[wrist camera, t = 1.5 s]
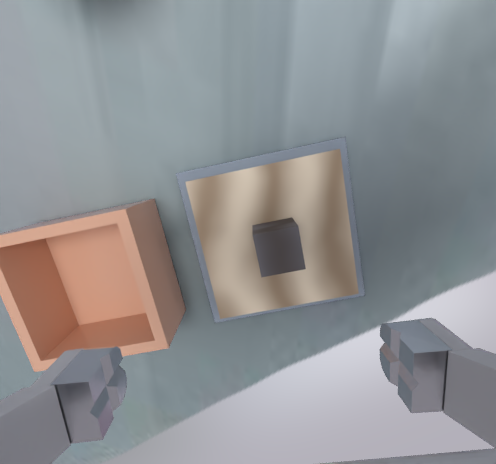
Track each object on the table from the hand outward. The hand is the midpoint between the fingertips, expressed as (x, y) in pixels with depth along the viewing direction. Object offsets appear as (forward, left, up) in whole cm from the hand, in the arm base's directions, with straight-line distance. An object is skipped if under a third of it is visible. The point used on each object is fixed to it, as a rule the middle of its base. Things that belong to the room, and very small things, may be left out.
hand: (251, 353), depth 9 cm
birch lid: (-2, +2, -21) cm, 22 cm away
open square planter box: (+16, +2, -22) cm, 27 cm away
